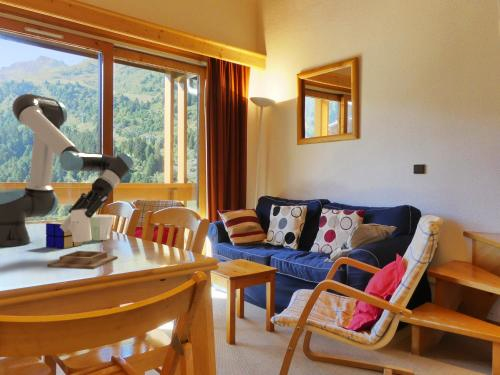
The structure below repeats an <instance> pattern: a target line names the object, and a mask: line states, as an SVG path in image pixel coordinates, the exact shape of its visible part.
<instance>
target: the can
mask: <svg viewBox="0 0 500 375" xmlns="http://www.w3.org/2000/svg"><path fill="white" fill-rule="evenodd" d="M86 211H87V209H75V210H71V213H69V214H70V215H69V216H70V217H71V222H72V221H74V220H75V231H74V232H73V233H72V238H73V242H74V243H82V244H83V243H85V242H86V243H87V242H91V241H92V240H91V239H92V237H91V226H90V218H89V217H87V216H86V214H85V212H86ZM77 222H78V223H77Z"/></svg>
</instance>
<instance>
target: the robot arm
mask: <svg viewBox="0 0 500 375" xmlns="http://www.w3.org/2000/svg"><path fill="white" fill-rule="evenodd" d="M12 113H13V115H14V117H15V118H16V120H17V121H18V122H19V123H20V124H21V125H23V126H25V127H28V128H29V130H31V131H32V132H33V141H32V143H33V144H32V150H31V151H32V152H31V163H30V170H29V171H30V173H29V181H28V183H27V184H26V185H24V188H8V189H3V190H2V189H1V190H0V247H1V248H9V247H17V246H25V245H28V244H30V242H31V238H30V236H29V232H28V230H27V226H26V219H30V218H42V217H46V216H51V215H52V214H54V213H55V211H56V210H57V209H58V206H59V198H58V197H57V196H58V195H57V194H56V193H55V191H54V190H55V188H54V187H53V186H52V185H51V183H52V172H53V165H54V164H53V163H54V154H55V155H56V156H57V157H58V158H59V163H60V167H61V169H63V170H65V171H70V172H95V173H101V174H100V175H98V177H97V178H96V179H95V180H94V181H93V183H92V184H91V190H90V191H88V193H85V192H83V193H81V195H80V197H79V198H78V199H77V201H75V203H74V204H73V205H72V206H71V207H70V209H69V210H68V213H69V214H71V210H75V209H87V211H86V212H85V214H86V216H87V217H89V218H91V217H92V216H93V215H95V213H96V212H97V211H98V210H99V209H100V208H101V206H102V205H104V203H106V202H107V201H108V200H109V199H108V197H109V195H111V193H112V192H113V190H115V188H117V186H118V185H119V183H120V182H121V181H122V180H123V179H124V178H125V176H126V175H127V174H128V173H129V172H131V170H132V168H133V166H134V164H135V161H134V159H133V158H132V156H131V155H129V154H128V153H126V152H124V151H123V152H120V153H118V154H117V155H116V156H112V155H108V154H104V153H101V152H93V151H92V152H84V151H81V150H80V149H79V147H77V146H76V145H75V144H74V143H73V142H72V141H71V140H70V139H69V138H68V137H66V135H65V134H64V133H62V131H61V127H62V126H63V125H65V123H66V122H67V119H68V110H67V107H66V106H65V105H64V103H63V102H62V101H60V100H57V99H54V98H52V97H50V98H49V97H46V96H41V95H36V94H33V93H24V94H21V95H19V96H17V97H16V98H15V99H14V101H13V103H12ZM63 221H64V222H63V224H62V225H61V226H60V228H61V229H62V230H63V231H64V232H66V231H67V230H69V231H70V232H71V233H73V232H74V231H75V220H74V221H72V222H71V217H70V215H68V217H67V218H66V219H65V220H63ZM77 223H78V222H77Z"/></svg>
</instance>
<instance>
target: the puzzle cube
mask: <svg viewBox="0 0 500 375" xmlns="http://www.w3.org/2000/svg"><path fill="white" fill-rule="evenodd" d="M64 221H65V220H63V221H62V220H61V221H55V222H46V223H45V235H46V236H45V247H46V248H50V249H51V248H52V249H59V250H60V249H61V250H65V249H70V248H75V247H79V246H80V247H81V246H83V242H82V243H74V242H73V238H72V233H71V232H70V231H69V230H67V231H66V232H64V231H63V230H62V229H61V228H60V226H61V225H62V224H63V222H64Z"/></svg>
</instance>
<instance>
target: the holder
mask: <svg viewBox="0 0 500 375" xmlns="http://www.w3.org/2000/svg"><path fill="white" fill-rule="evenodd" d="M58 258H59V260H56V261H53V262H50V263H47V268H48V267H49V268H73V269H97V268H99V267H102V266H104V265H106V264H108V263H111V262H114V261H115V260H117V259H118V258H119V257H118V256H117V255H109V254H108V251H95V250H92V251H91V250H76V251H74V252H71V253H66V254H63V255H61V256H59V257H58Z"/></svg>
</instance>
